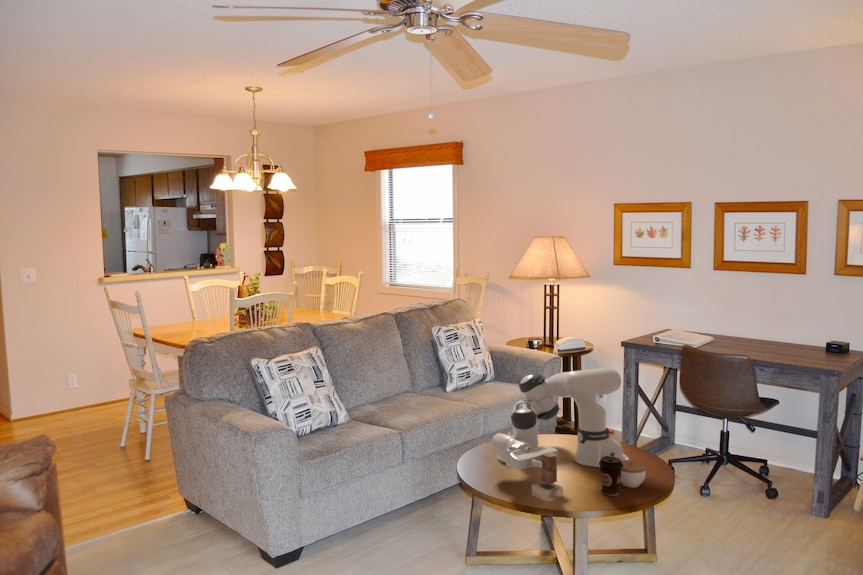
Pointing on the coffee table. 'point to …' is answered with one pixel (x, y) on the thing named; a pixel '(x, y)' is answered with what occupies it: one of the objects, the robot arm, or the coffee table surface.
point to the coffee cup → (610, 475)
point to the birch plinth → (547, 491)
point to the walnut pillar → (549, 468)
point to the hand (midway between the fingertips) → (548, 463)
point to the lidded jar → (632, 473)
